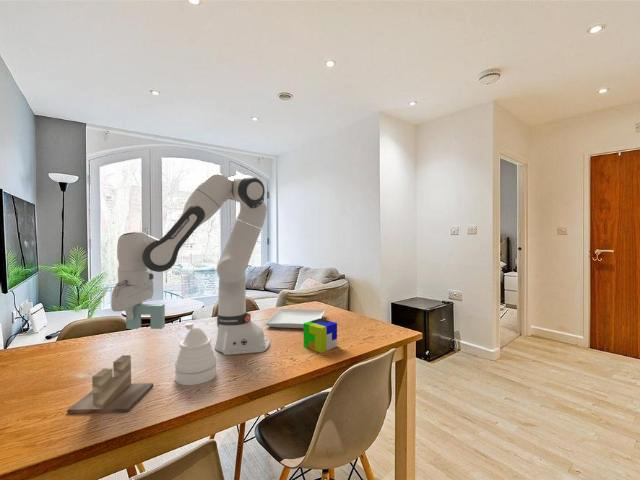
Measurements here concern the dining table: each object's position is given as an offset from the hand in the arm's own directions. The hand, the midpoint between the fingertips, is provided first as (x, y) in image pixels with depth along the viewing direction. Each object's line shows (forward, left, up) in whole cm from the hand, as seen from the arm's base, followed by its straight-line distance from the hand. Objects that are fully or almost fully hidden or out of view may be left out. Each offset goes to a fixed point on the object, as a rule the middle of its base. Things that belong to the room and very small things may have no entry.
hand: (134, 317), depth 111 cm
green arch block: (-4, 0, -4) cm, 5 cm away
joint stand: (-4, +19, -19) cm, 27 cm away
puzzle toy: (-66, -20, -19) cm, 71 cm away
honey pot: (-23, +5, -19) cm, 30 cm away
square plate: (-55, -55, -19) cm, 80 cm away
